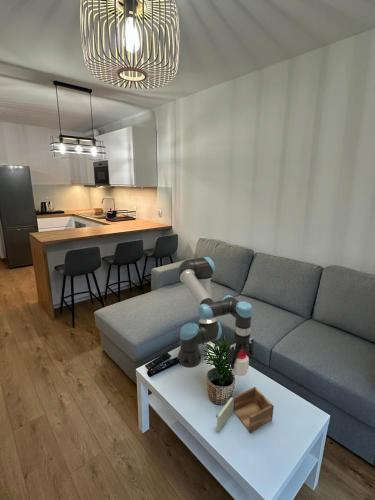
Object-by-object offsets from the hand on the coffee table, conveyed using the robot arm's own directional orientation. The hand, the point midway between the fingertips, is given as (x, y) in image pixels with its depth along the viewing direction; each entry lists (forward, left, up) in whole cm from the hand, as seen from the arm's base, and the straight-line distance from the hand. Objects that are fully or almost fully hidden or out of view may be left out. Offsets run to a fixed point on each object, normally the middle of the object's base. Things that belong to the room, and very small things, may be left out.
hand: (239, 370), depth 136 cm
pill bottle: (0, 0, 0) cm, 0 cm away
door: (+9, -15, -16) cm, 24 cm away
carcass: (+13, -2, -16) cm, 21 cm away
